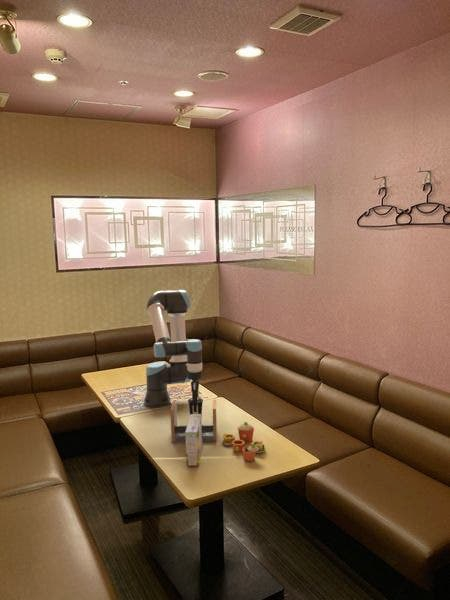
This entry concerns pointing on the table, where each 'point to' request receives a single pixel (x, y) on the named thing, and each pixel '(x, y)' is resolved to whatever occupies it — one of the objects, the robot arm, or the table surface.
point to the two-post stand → (179, 431)
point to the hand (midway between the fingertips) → (195, 414)
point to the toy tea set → (245, 437)
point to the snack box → (193, 440)
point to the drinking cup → (198, 406)
